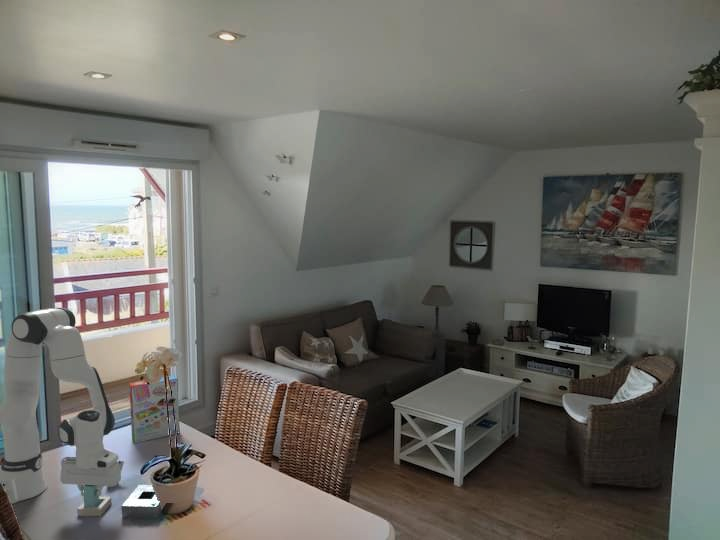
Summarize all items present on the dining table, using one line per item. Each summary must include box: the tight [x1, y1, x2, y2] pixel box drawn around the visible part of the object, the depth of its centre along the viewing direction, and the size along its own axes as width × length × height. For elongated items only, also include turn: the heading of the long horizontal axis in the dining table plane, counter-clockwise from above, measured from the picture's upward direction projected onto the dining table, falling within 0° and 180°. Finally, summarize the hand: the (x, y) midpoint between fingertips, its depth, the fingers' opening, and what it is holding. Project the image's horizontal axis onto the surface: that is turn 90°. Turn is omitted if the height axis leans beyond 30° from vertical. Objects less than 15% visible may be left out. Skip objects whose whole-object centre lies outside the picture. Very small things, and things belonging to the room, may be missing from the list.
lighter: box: [106, 460, 125, 489], centre depth 204 cm, size 7×2×8 cm, turn 156°
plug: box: [83, 485, 99, 507], centre depth 185 cm, size 4×4×10 cm
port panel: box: [121, 484, 162, 520], centre depth 188 cm, size 12×14×5 cm
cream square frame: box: [76, 496, 112, 517], centre depth 187 cm, size 8×8×2 cm
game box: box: [128, 375, 181, 444], centre depth 245 cm, size 21×6×27 cm, turn 123°
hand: (91, 495), depth 185 cm, fingers closed on plug, 3 cm apart
